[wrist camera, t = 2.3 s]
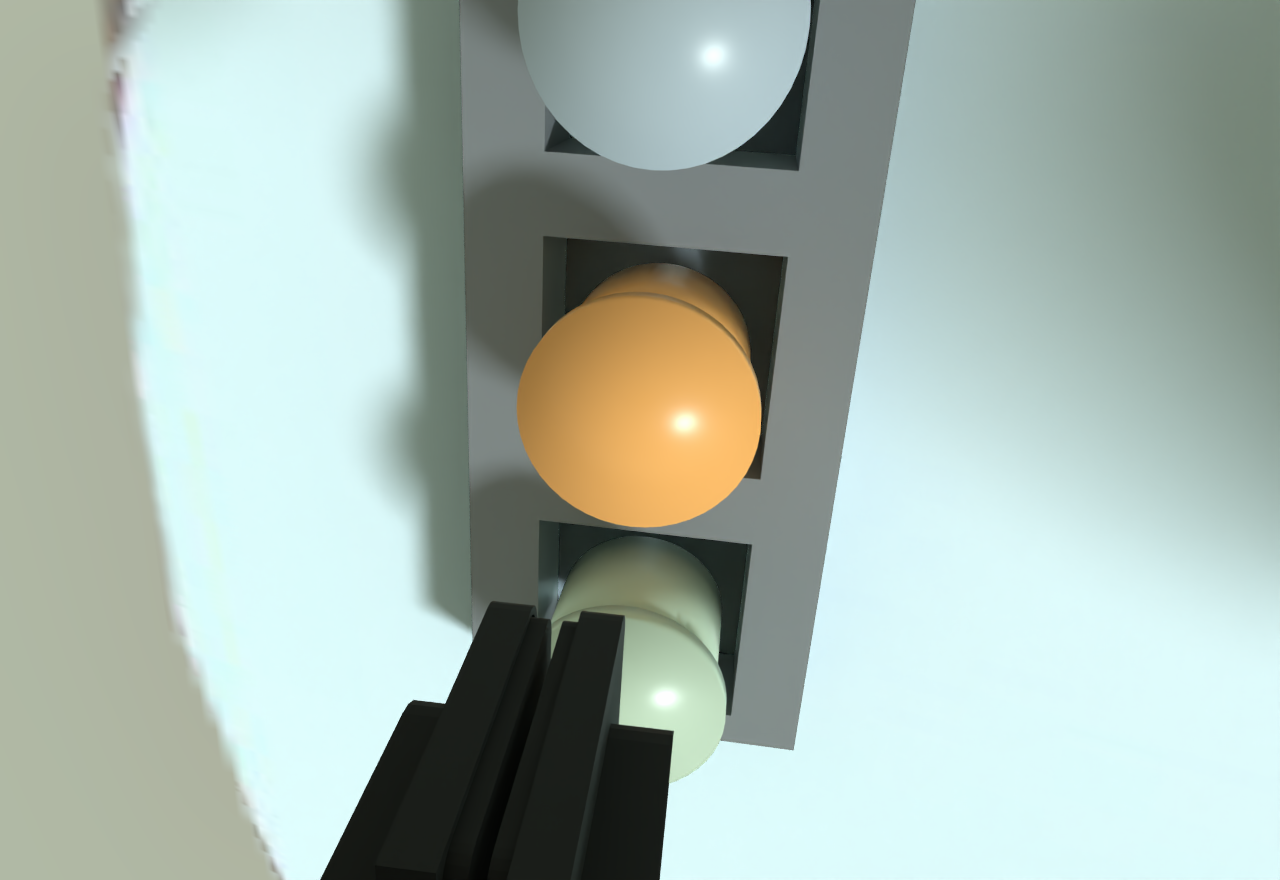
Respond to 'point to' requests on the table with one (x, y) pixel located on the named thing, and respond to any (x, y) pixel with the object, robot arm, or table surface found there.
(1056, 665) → the table surface
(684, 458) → the plunger orange
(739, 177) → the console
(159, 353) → the table surface
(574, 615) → the plunger green
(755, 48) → the plunger gray
